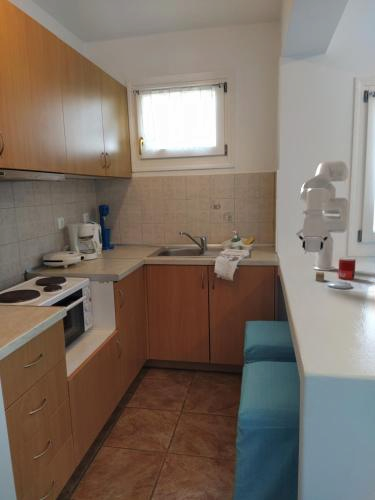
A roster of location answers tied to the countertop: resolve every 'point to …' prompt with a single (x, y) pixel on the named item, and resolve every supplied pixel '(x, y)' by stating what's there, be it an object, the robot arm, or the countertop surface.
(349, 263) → the canned food
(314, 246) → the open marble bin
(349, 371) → the countertop surface
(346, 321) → the countertop surface
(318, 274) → the block
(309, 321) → the countertop surface
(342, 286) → the dish
